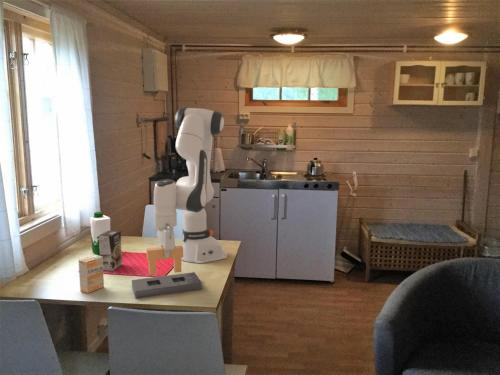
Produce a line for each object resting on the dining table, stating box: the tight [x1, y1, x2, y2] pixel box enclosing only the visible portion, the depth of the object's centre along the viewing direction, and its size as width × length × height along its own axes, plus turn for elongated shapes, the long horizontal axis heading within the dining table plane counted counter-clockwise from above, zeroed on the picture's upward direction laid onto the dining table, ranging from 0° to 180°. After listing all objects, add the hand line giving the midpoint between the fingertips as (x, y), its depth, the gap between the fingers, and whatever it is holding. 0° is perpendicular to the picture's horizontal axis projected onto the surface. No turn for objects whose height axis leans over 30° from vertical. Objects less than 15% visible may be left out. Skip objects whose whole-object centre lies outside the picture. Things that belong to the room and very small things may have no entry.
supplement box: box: [78, 254, 105, 295], centre depth 183 cm, size 8×5×13 cm, turn 148°
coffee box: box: [99, 230, 123, 272], centre depth 208 cm, size 9×6×16 cm
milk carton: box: [89, 211, 111, 256], centre depth 228 cm, size 9×9×20 cm
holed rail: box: [131, 271, 203, 300], centre depth 185 cm, size 26×12×3 cm, turn 110°
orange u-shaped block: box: [146, 245, 183, 276], centre depth 183 cm, size 14×3×10 cm, turn 111°
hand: (165, 255), depth 183 cm, fingers closed on orange u-shaped block, 3 cm apart
